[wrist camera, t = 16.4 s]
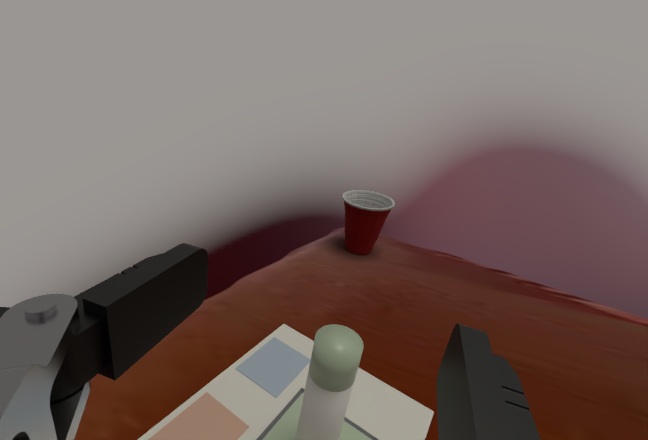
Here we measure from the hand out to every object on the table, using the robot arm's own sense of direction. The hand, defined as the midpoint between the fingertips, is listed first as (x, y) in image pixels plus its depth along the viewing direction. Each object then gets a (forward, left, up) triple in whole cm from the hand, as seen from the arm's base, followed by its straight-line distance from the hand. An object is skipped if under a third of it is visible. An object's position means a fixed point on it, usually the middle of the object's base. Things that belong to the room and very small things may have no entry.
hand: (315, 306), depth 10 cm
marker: (+3, -11, -22) cm, 25 cm away
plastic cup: (+19, -53, -24) cm, 61 cm away
